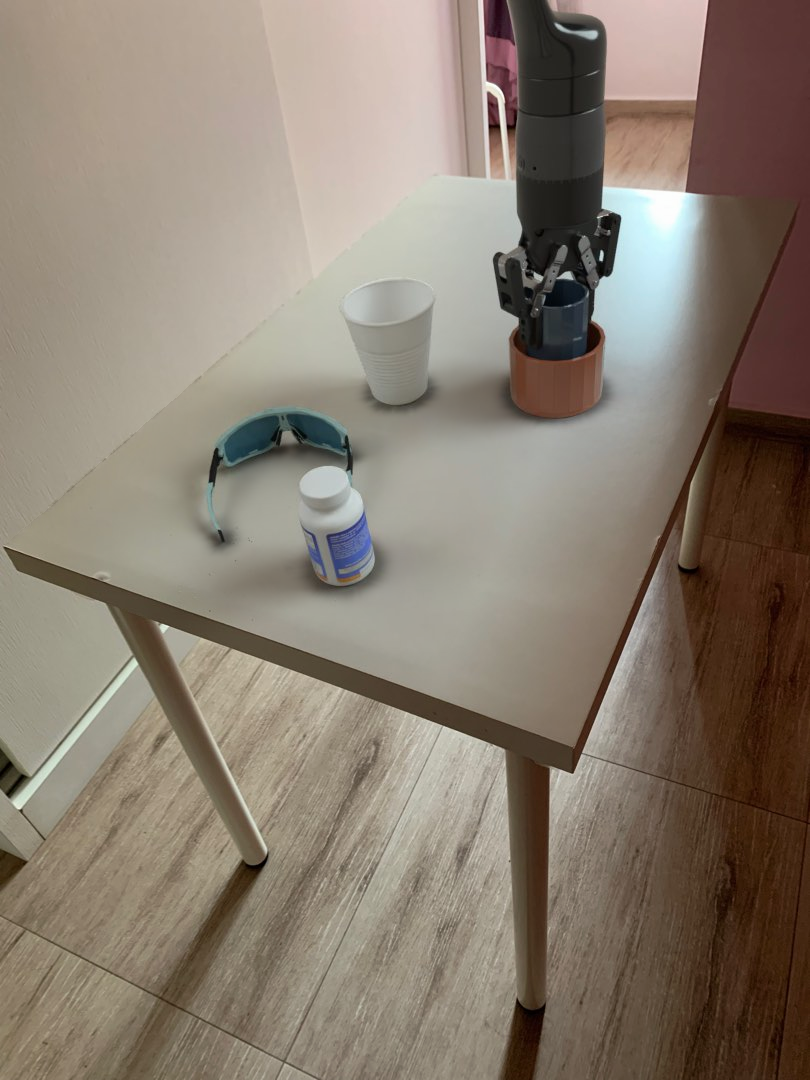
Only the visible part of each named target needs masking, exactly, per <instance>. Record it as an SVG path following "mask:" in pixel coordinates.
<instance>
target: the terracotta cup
mask: <svg viewBox="0 0 810 1080" xmlns="http://www.w3.org/2000/svg"><path fill="white" fill-rule="evenodd" d="M606 339H607V338H606V334H605V330H604V329H603V328H602V327H601V325H599V324H598V323H597V322H596V321H594V320H592V319H591V322H590V323H589V324H587V346H586V354H585V355H584V356H581V357H578V358H574V359H570V360H562V361H547V360H539V359H535V358H532V357H528V356H526V346H525V345H524V344H523V343H522V342H521V341H520V339H519V324H518V325H517V326H516V327H514V328H513V330H512V331H511V333H510V335H509V337H508V354H509V355H508V356H509V358H508V359H509V360H508V361H509V388H510V397H511V399H512V402H513V404H515V406H516V407H517V408H518V409H520V410H521V411H524V412H525V413H527V414H530V415H533V416H535V417H541V418H548V419H561V418H562V419H563V418H569V417H574V416H577V415H580V414H582V413H585V412H587V411H589V410H590V409H593V407H595V406H596V404H597V403H599V400H600V399H601V396H602V391H603V386H604V385H603V383H604V372H605V371H604V369H605V352H606Z"/></svg>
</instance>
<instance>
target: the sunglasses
mask: <svg viewBox="0 0 810 1080" xmlns="http://www.w3.org/2000/svg"><path fill="white" fill-rule="evenodd" d="M283 432H290V433H291V434H292V436H293V437H294V438H295V440H296V441H297V443H298V444H299V445H300V446H301V445H303V443H306V444H308V445H310V446H311V447H314V448H320V449H325V450H328V451H332V452H334V453H336V454H338V455H341V456H343V457H347V458H346V459H347V460H346V461H347V465H346V469H345V472H346V474H347V476H348V479H349V483H350V487H352V488H353V477H352V476H353V473H354V453H353V449H352V444H351V441H350V438H349V432H348V431H347V429H346V428H345V427H344V425H342V424H341V423H340V422H339V421H337V420H335V419H334V418H332V417H331V416H329V415H327V414H325V413H322V412H319V411H316V410H313V409H311V408H304V407H298V405H295V406H294V405H291V406H274V407H271V408H265V409H264V410H262V411H259V412H256V413H253V414H251V415H250V416H247V417H245V418H243V419H241V420H240V421H238V422H237V423H235V424H234V425H232V426H231V427H229V428H228V429H227V430H226V431H225V432H224V433H223V434H221V435H220V437H219V438H218V439H217V440H216V441H215V442H214V444H213V447H214V450H213V454H212V458H211V462H210V467H209V473H208V483H207V486H206V489H205V498H206V501H207V509H208V514H209V517H210V518H211V522H212V524H213V526H214V527H215V529H216V530H217V532H218V533H217V534H218V536H219V538H220V540H221V543H225V542H226V539H225V536H224V533H223V531H222V530H221V527H220V526H219V523H218V522H217V519H216V516H215V512H214V507H213V494H214V491H215V487H216V479H217V473H218V468H219V467H220V464H222V466H224V467H234V466H235V465H237V464H239V463H241V462H243V461H246V460H248V459H250V458H253V457H256V456H259V455H262V454H264V453H267V452H268V451H269V450H271V449H273V447H278V448H279V447H280V446H281V442H282V437H283Z"/></svg>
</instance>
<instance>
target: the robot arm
mask: <svg viewBox="0 0 810 1080" xmlns="http://www.w3.org/2000/svg"><path fill="white" fill-rule="evenodd" d="M506 4H507V7H508V13H509V17H510V22H511V23H510V24H511V28H512V33H513V39H514V44H515V46H514V47H515V52H516V53H515V54H516V55H515V56H516V86H517V88H516V89H517V90H516V91H517V92H516V93H517V115H516V118H517V119H516V126H515V135H514V137H515V139H514V140H515V141H514V143H515V144H514V145H515V192H516V194H515V197H516V198H515V199H516V215H517V217H518V220H519V223H520V227H521V233H520V237H519V240H518V243H517V247H515V248H514V249H512V250H511V251H509V252H507V253H504V252H501V251H497V252H495V254H494V255H493V256H492V266H493V271H494V272H493V273H494V277H495V284H496V290H497V295H498V301H499V302H498V303H499V308H500V309H501V310H502V311H504V312H506V313H508V314H509V315H512V316H514V317H515V318H517V319H518V325H519V339H520V341H521V342H522V343H523V344H524V345H525V346H527V347H529V348H531V349H533V350H537V349H539V348H541V347H542V315H541V314H540V313H541V310H542V307H543V304H544V301H545V298H546V295H547V294H550V293H551V292H552V290H553V287H554V284H555V281H556V279H559V278H560V277H561V276H562V275H564V274H565V273H567V272H569V273H570V275H571V278H572V280H575V281H578V282H580V283H582V284H584V285H585V286H586V287H587V288H588V289H589V299H588V323H587V324H589V323H590V322H591V320H592V317H593V316H594V312H595V297H596V296H595V295H596V289H597V288H598V287H599V285H600V282H601V281H600V280H601V279H602V278H603V277H605V278H609V277H611V276H612V274H613V272H614V266H615V260H616V256H617V255H616V254H617V249H618V243H619V236H620V231H621V225H622V224H621V223H622V216H621V214H619V213H616V212H614V211H611V210H608V209H606V208H605V209H604V208H603V193H604V173H605V153H606V135H607V134H606V133H607V132H606V131H607V130H606V129H607V128H606V127H607V126H606V112H605V93H606V92H605V91H606V69H607V56H608V55H607V53H608V37H607V36H608V35H607V34H608V33H607V30H606V29H607V28H606V27H605V24H604V22H603V21H602V20H601V19H599V17H596V16H595V15H594V16H593V15H591V14H586V13H579V12H578V13H577V12H566V11H565V12H564V11H557V10H553V9H552V7H551V6H550V3H549V1H548V0H506ZM601 251H602V252H601ZM601 253H603V255H602V260H600V258H601ZM535 274H537V275H539V276H541V277H542V280H541V281H540V280H539V279H537V278H536V277H535ZM532 289H533V290H534V295H533V298H532V301H529V298H530V295H531V292H532Z"/></svg>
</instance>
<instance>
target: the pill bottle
mask: <svg viewBox="0 0 810 1080" xmlns="http://www.w3.org/2000/svg"><path fill="white" fill-rule="evenodd" d="M298 489H299V493H300V498H301V500H300V503H299V505H298V509H297V515H298V519H299V523H300V527H301V530H302V533H303V537H304V540H305V543H306V548H307V550H308V553H309V558H310V560H311V564H312V567H313V570H314V572H315V574H316V576H317V577H318V579H319V580H321V581H322V582H324V584H327V585H331V586H337V587H347V586H351V585H354V584H357V583H358V582H360V581H363V580H364V579H365V578H366V577H367V576H368V575H369V574H370V573H371V572H372V570H373V568H374V566H375V561H376V557H375V552H374V547H373V542H372V537H371V532H370V529H369V524H368V520H367V515H366V510H365V506H364V501H363V499H362V496H361V494H360V493H359V492H358V491H357V490H356V489H355V488H353V486H352V487H350V483H349V479H348V476H347V474H346V470H344V469H343V468H340V467H339V466H338V467H337V466H334V465H322V466H318V467H315V468H313V469H311V470H309V471H308V472H306V473H305V474H304V475H303V476H302V477H301V478H300V480H299V484H298Z"/></svg>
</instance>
